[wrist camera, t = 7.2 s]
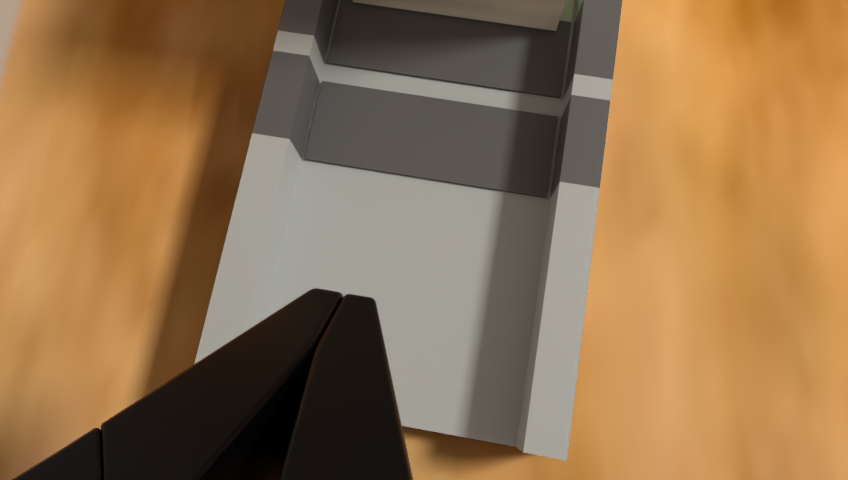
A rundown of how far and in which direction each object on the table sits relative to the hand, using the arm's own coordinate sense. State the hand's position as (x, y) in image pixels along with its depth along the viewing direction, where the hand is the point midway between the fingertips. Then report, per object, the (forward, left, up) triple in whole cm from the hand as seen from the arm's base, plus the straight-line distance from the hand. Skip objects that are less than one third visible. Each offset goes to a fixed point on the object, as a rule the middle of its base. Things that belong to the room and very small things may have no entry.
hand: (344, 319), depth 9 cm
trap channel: (+6, +3, -9) cm, 11 cm away
